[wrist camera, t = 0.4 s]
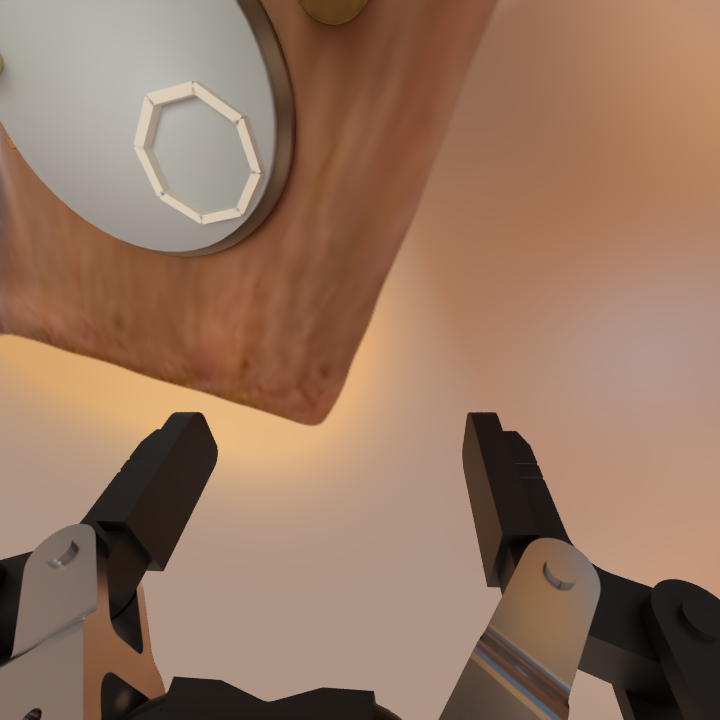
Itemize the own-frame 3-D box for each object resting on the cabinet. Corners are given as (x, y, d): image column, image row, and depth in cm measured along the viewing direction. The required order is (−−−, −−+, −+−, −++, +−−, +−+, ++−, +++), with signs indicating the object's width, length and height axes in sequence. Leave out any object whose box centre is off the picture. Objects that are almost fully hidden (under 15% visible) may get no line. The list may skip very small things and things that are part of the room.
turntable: (-7, -222, 20) (-122, -319, 16) (328, 55, 26) (315, 43, 21) (-16, 153, 31) (-84, 159, 27) (221, 288, 37) (197, 313, 33)
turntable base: (-71, -124, 24) (-129, -154, 21) (287, -104, 23) (274, -132, 21) (72, 241, 37) (48, 250, 35) (300, 259, 37) (294, 270, 34)
